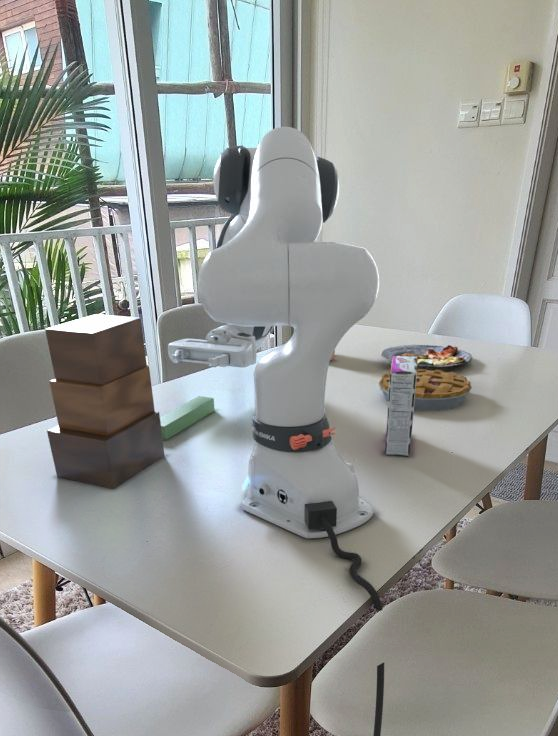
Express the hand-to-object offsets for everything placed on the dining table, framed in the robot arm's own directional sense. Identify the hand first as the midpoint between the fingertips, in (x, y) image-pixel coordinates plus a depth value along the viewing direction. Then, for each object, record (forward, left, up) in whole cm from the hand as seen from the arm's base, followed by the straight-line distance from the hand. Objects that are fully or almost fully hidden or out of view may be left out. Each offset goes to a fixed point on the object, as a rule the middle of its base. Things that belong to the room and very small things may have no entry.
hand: (192, 361), depth 136 cm
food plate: (-1, -73, -12) cm, 74 cm away
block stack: (-15, +26, -12) cm, 32 cm away
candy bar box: (-41, -23, -12) cm, 49 cm away
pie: (-23, -49, -12) cm, 56 cm away
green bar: (-3, +5, -12) cm, 14 cm away
